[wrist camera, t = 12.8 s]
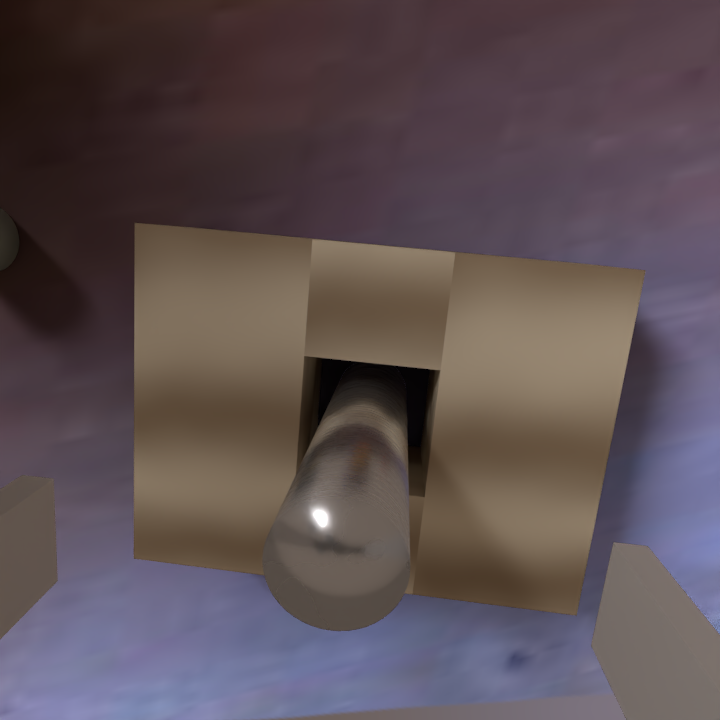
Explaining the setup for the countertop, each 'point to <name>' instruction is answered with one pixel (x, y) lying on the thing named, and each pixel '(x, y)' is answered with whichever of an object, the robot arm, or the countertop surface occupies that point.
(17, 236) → the grey-green rounded piece
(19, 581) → the robot arm
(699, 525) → the countertop surface
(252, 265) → the hole block
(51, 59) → the countertop surface
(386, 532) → the long steel pin
